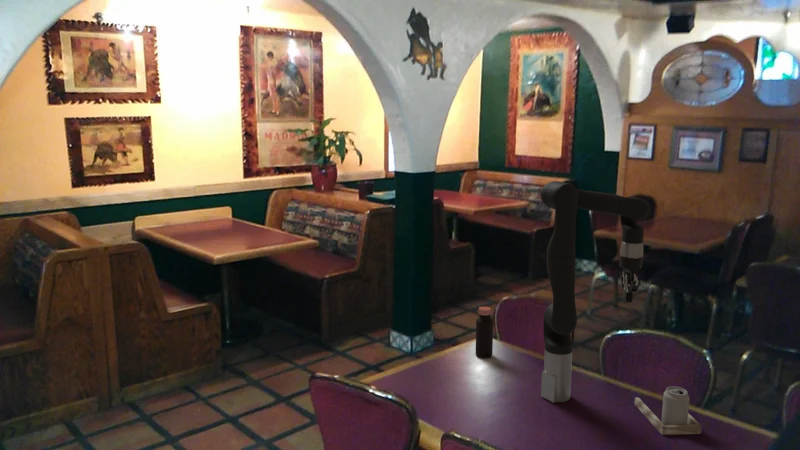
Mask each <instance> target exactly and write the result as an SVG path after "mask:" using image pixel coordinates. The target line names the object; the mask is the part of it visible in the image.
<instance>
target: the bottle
mask: <svg viewBox="0 0 800 450" xmlns="http://www.w3.org/2000/svg"><path fill="white" fill-rule="evenodd" d="M491 315H492V308H491V307H489V306H479V307H478V317H477V318H476V319H475V356H476V357H477V358H479V359H490V358H491V357H493V350H494V349H493V346H494V345H493V344H494V343H493V341H494V339H493V338H494V320H493V318H492V317H491Z"/></svg>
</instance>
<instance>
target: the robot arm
mask: <svg viewBox="0 0 800 450" xmlns="http://www.w3.org/2000/svg"><path fill="white" fill-rule="evenodd" d="M540 199H541V202H542V204H543V205H545V206H546V207H547V208H550V209H552V210H554V213H555V214H554V215H555V226H554V230H553V233H552V236H551V237H550V240H549V242H548V245H547V248H546V270H547V276H548V280H549V284H550V288H551V292H552V303H550V304H549V305H548V306H547V307H546V309H545V310H544V315H543V342H544V361H543V363H544V364H543V365H544V366H543V370H542V371H541V385H540V386H541V387H540V396H541V397H542V398H544V399H546V400H547V401H550V402H551V403H553V404H555V403H565V402H568V401H569V400H571V391H572V390H571V387H572V365H573V362H572V361H573V346H574V345H573V342H572V338H571V334H572V333H573V332H574V331H575V329H576V328H577V323H578V315H577V306H576V296H575V295H576V294H575V293H576V292H575V288H576V286H575V285H576V225H577V223H576V222H577V214H578V209H582V210H587V211H590V212H594V213H597V214H599V213H600V214H605V215H611V216H619V219H620V224H621V229H622V232H621V244H620V250H619V267H620V268H621V269H622V271H619V277H620V282H621V286H622V288H623V291H624V302H625V303H632V302H633V297H634V296H633V295H634V293H637V291H638V290H639V287H640V285H641V284H642V283H641V282H642V281H641V280H639V279H638V277H639V274H638V273H639V272H638V271H639V270H641V269H642V268H643V260H644V235H645V233H644V231H645V230H644V228H643V226H642V225H640V224H639V223H638V220H644V219H645V218H647V217H648V216H649V215H650V213H651V205H650V203H649V202H648V201H647V200H645V199H644V198H638V197H633V196H623V195H619V194H616V193H615V194H614V193H609V192H608V193H607V192H604V191H603V192H602V191H592V190H584V189H578V188H576V187H575V185H574V184H571V183H569V182H564V181H557V180H556V181H555V180H554V181H550V182H548V183H546V184H545V185H543V187H542V188H541V191H540Z"/></svg>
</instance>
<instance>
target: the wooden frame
mask: <svg viewBox="0 0 800 450" xmlns="http://www.w3.org/2000/svg"><path fill="white" fill-rule="evenodd" d="M634 406H635V407H636V408H637V409H638V410H639V411H640V412H641V413H642V415H644V417H645V418H646V419H647V420H648V421H649V423H651V424H652V426H654V428H655V429H656V430H657V431H658V432H659V433H660V434H661V435H662V436H668V435H669V436H673V435H698V434H699V435H702V431H703V426H702V425H701V424H700V423H699V422H698V421H697V420H696V419H695V418H694V417H693V416H692V415H691V414H690V413H689V412H688V421H687V425H664V424H663V423H662V420H660V418H658V416H657V415H656V414H655V413H654V412H653V411H652V410H651V409H650V408H649V407H648V406H647V405H646V404H645V402H643V400H642V399H641V398H640V397H634Z"/></svg>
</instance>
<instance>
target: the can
mask: <svg viewBox="0 0 800 450" xmlns="http://www.w3.org/2000/svg"><path fill="white" fill-rule="evenodd" d="M688 393H689V392H688V390H686V389H685V388H683V387H680V386H673V385H672V386H668V387H666V389H665V391H664V392H663V397H662V408H661V422H662V423H663V424H664V425H688V424H687V421H688V413H689V408H690V395H689V394H688Z"/></svg>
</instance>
